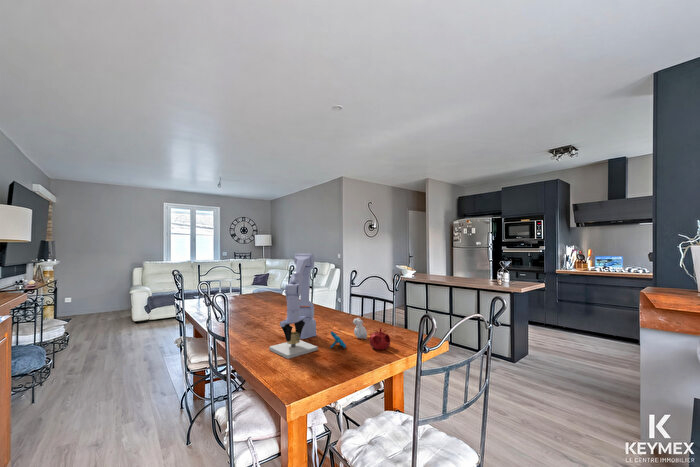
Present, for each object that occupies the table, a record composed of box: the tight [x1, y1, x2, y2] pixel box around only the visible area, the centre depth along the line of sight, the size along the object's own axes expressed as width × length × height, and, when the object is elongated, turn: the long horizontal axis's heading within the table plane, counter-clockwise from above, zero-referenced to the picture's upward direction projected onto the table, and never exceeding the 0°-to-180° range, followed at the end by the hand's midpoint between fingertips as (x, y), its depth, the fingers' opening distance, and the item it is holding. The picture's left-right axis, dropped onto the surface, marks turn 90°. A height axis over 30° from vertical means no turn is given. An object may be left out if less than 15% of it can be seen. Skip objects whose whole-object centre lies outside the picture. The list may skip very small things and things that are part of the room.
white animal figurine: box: [352, 317, 368, 340], centre depth 164 cm, size 12×8×11 cm
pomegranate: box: [368, 327, 391, 351], centre depth 147 cm, size 10×10×9 cm
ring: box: [286, 331, 301, 344], centre depth 145 cm, size 6×6×4 cm
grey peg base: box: [268, 339, 319, 360], centre depth 145 cm, size 16×16×6 cm
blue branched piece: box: [329, 330, 347, 349], centre depth 148 cm, size 11×6×10 cm
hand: (293, 339), depth 145 cm, fingers closed on ring, 6 cm apart
